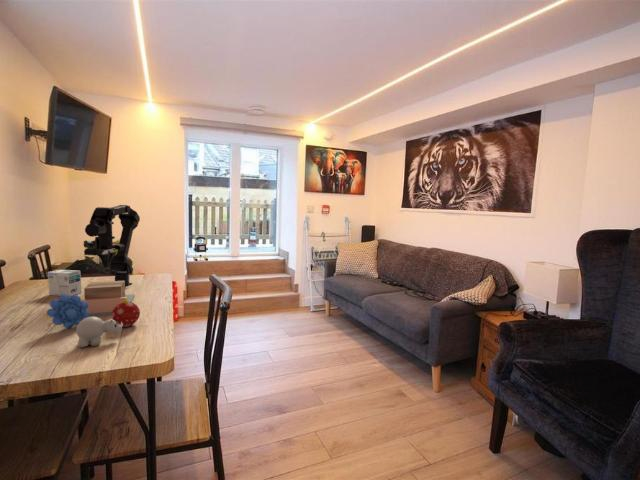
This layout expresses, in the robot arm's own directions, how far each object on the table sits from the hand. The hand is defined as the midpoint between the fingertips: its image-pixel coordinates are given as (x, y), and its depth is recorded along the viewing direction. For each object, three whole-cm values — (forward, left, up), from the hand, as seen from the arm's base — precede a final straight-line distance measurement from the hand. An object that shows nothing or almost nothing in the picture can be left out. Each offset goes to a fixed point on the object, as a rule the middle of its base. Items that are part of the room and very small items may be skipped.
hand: (106, 267), depth 155 cm
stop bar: (+27, +21, -12) cm, 36 cm away
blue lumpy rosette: (+42, +21, -12) cm, 49 cm away
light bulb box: (+6, -16, -12) cm, 21 cm away
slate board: (+18, +15, -12) cm, 26 cm away
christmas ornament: (+36, +37, -12) cm, 53 cm away
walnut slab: (+22, +18, -9) cm, 29 cm away
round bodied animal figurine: (+50, +39, -12) cm, 65 cm away
